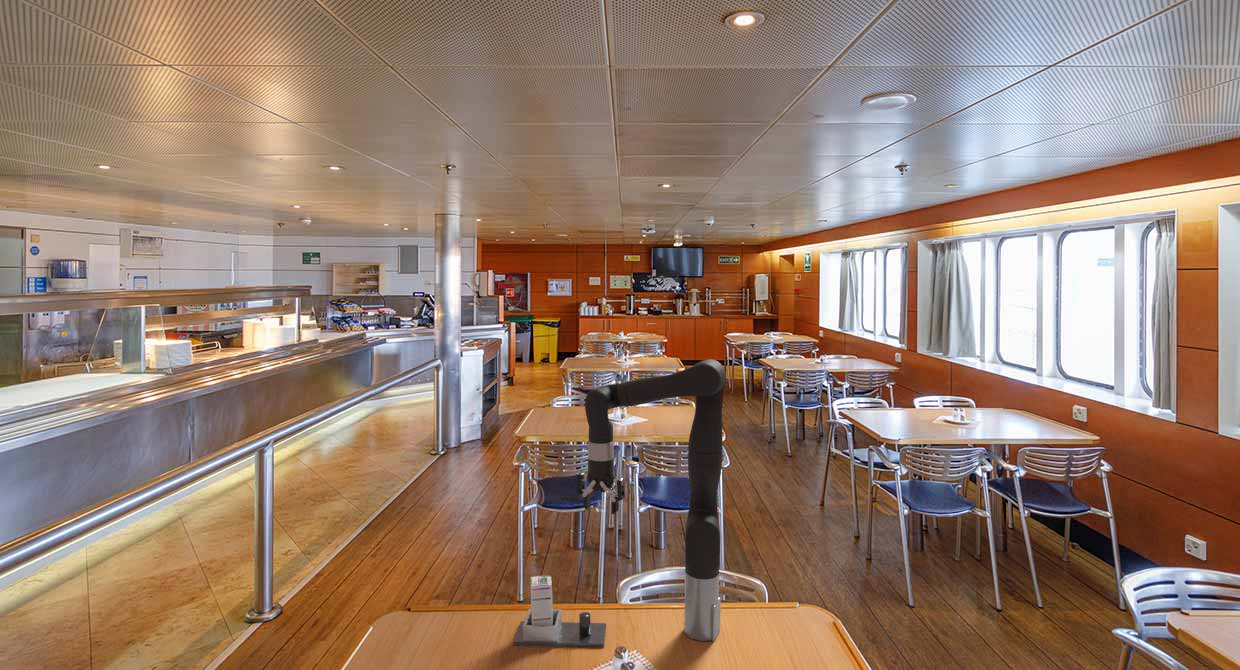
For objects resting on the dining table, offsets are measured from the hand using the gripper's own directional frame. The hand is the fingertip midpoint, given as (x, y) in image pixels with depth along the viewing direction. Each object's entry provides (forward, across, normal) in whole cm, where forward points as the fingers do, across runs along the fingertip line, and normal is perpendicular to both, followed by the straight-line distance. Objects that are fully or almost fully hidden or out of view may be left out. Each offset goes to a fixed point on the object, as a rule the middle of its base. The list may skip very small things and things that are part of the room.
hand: (600, 511), depth 181 cm
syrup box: (+29, +9, +18) cm, 35 cm away
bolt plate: (+30, +4, +16) cm, 34 cm away
